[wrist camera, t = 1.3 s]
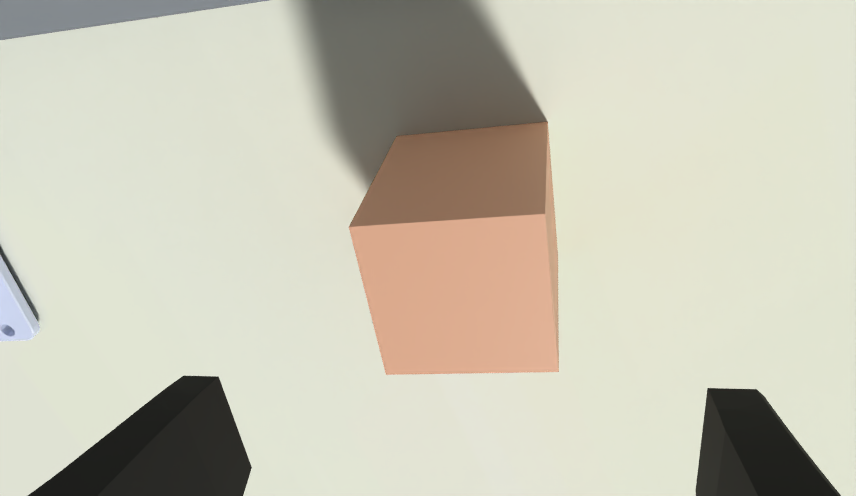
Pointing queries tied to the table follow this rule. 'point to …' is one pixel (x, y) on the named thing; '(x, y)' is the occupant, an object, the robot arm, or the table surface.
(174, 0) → the grey flat slab
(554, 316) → the terracotta block
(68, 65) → the table surface
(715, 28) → the table surface
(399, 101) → the table surface
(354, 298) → the table surface
